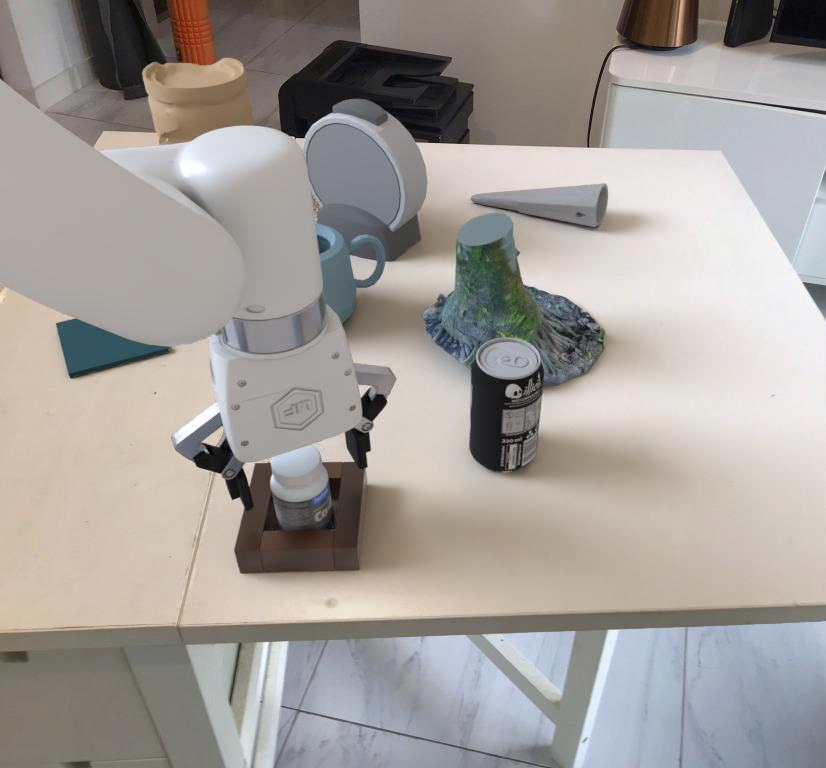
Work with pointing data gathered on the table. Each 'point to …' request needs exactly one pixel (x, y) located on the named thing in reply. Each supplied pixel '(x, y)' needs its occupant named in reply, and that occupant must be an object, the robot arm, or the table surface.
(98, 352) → the mat
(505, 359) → the beverage can
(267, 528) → the peg block
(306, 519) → the pill bottle
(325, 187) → the alarm clock
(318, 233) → the mug
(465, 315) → the tree stump
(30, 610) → the table surface
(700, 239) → the table surface
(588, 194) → the long tapered cone
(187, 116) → the container
